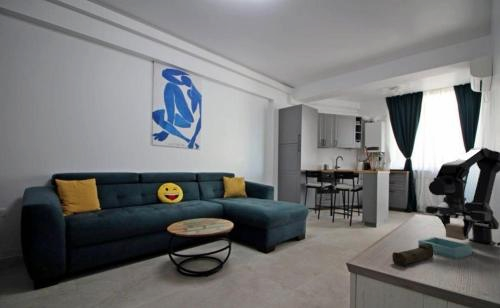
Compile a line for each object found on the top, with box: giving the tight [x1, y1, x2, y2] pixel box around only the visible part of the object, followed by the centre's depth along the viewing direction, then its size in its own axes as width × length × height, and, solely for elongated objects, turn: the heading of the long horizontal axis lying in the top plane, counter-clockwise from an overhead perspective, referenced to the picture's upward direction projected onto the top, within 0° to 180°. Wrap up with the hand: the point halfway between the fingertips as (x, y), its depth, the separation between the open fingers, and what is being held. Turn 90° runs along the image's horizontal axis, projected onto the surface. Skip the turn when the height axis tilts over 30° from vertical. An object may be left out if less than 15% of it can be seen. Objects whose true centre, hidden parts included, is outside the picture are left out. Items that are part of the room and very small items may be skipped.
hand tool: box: [391, 243, 434, 267], centre depth 72 cm, size 19×4×5 cm, turn 113°
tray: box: [417, 236, 473, 260], centre depth 81 cm, size 11×11×3 cm
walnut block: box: [445, 222, 470, 241], centre depth 89 cm, size 5×5×5 cm
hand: (457, 235), depth 89 cm, fingers closed on walnut block, 5 cm apart
